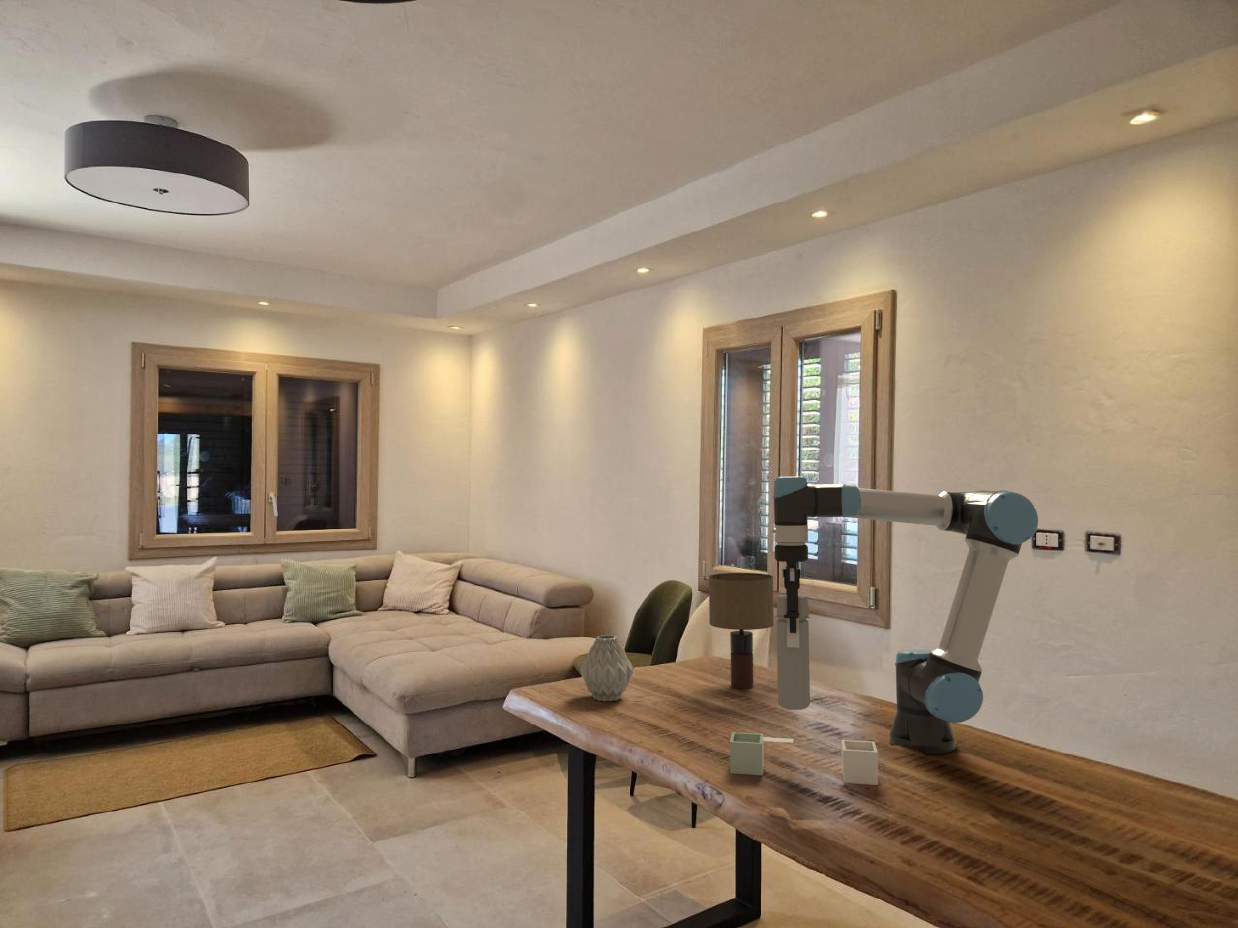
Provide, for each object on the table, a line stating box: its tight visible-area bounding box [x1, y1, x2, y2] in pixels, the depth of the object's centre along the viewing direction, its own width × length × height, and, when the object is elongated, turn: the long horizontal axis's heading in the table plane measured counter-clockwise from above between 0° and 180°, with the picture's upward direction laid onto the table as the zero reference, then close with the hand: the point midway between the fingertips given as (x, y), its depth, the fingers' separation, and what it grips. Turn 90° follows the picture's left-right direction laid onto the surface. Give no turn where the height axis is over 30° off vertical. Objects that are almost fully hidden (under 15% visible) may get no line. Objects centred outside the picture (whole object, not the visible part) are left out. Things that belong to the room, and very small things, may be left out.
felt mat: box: [763, 736, 794, 744], centre depth 196 cm, size 14×14×1 cm
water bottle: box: [774, 594, 811, 711], centre depth 184 cm, size 9×8×25 cm
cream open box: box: [840, 739, 879, 786], centre depth 173 cm, size 7×7×8 cm
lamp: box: [708, 572, 775, 690], centre depth 255 cm, size 20×20×35 cm
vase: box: [579, 634, 635, 702], centre depth 243 cm, size 16×16×18 cm
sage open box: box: [729, 731, 765, 776], centre depth 179 cm, size 7×7×8 cm
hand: (792, 642), depth 184 cm, fingers closed on water bottle, 8 cm apart
